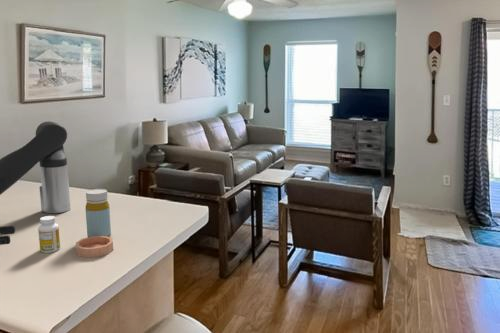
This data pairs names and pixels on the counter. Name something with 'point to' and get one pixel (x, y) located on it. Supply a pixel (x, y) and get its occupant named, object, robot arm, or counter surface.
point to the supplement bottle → (49, 234)
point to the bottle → (97, 213)
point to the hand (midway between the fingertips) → (12, 234)
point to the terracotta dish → (94, 246)
